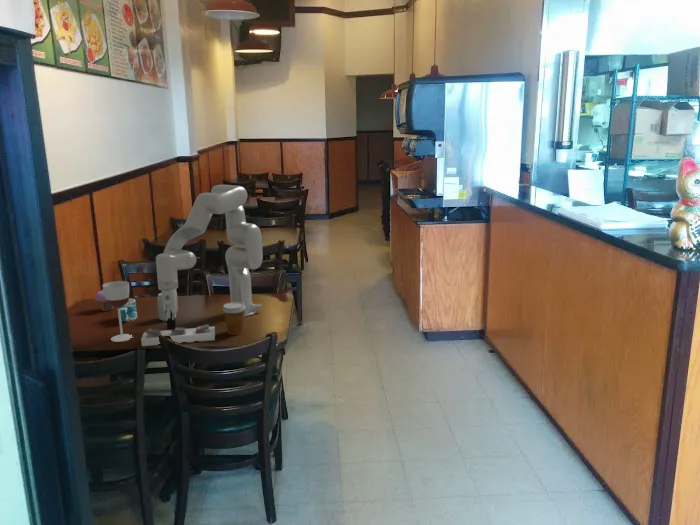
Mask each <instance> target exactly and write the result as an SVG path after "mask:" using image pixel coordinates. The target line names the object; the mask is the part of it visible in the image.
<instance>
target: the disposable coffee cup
mask: <svg viewBox="0 0 700 525" xmlns="http://www.w3.org/2000/svg"><path fill="white" fill-rule="evenodd" d="M245 308H246V306H245V305H244V303H242V302H231V301H230V302H227V303H225V304H223V306H222V311H223V314H224V319H225V325H226V329H227V334H228V335H231V336H237V335H238V334H239V335H241V334H243V333H244V329H245V328H244V327H245V317H244V315H245Z"/></svg>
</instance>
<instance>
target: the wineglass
mask: <svg viewBox="0 0 700 525" xmlns="http://www.w3.org/2000/svg"><path fill="white" fill-rule="evenodd" d="M102 290H103V291H104V295H105V298H106V301H107V303H108V304H109V305H111V306H113V308H115V309H117V308H118V310H117V317H119V319H118V324H119V334H117V335H114V336H112V337H111V338H110V340H111V341H112V342H115V343H118V342H126V341H129V340H131V339H130V338H132V339H133V338H134V336H133V337H132V335H133V334H131V335H129V334H130V333H124V331H123V322H122V321H121V314H120V307H122V306H124V305H125V304H126V303H127V302H128V300H129V299H130V282H129V281H126V280H115V281H109V282H106V283H103V284H102Z"/></svg>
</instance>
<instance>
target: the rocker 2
mask: <svg viewBox="0 0 700 525" xmlns="http://www.w3.org/2000/svg"><path fill="white" fill-rule="evenodd" d="M209 327H210V324H209V323H207V324H203V325H201V326H197V327H195V328H196V332H199V331H203V330H206V329H209Z"/></svg>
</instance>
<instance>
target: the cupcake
mask: <svg viewBox="0 0 700 525" xmlns="http://www.w3.org/2000/svg"><path fill="white" fill-rule="evenodd" d="M95 301H96V302H97V303H98V304H99V307H100V309H101V311H103V312H106V311H108V310H109V311H112V310H114V307H113V306H111V305H109V304H108V303H107V301H106V298H105V295H104V291H103V289H101V290H100V291H97V293H96V294H95Z"/></svg>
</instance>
